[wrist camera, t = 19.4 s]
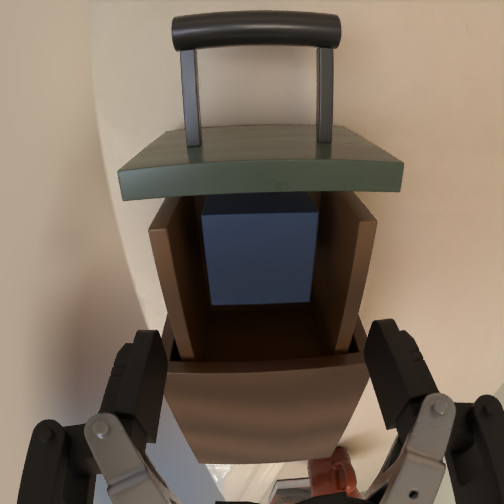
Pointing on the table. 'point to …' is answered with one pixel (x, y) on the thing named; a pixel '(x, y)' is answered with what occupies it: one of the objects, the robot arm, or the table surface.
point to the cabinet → (265, 403)
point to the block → (259, 247)
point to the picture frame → (290, 491)
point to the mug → (332, 475)
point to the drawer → (261, 180)
